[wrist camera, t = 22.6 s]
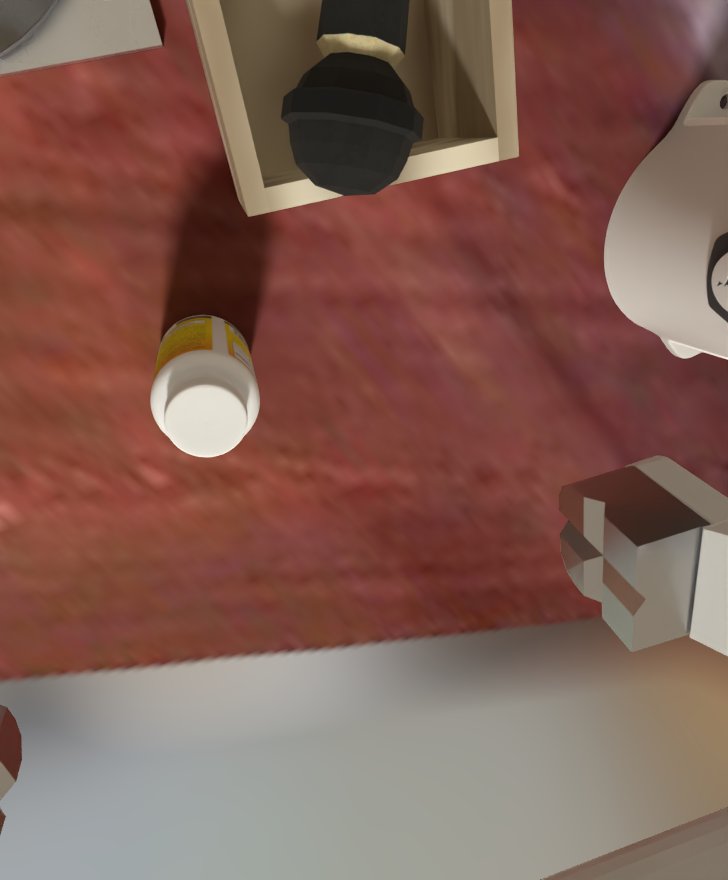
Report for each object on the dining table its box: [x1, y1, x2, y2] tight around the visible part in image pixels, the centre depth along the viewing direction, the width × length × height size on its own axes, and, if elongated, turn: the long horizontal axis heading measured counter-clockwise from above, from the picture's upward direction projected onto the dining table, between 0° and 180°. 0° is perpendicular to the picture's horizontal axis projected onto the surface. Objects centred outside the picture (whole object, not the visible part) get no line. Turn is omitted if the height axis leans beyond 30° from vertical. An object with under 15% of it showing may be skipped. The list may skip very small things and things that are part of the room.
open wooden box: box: [186, 0, 519, 217], centre depth 28 cm, size 13×13×9 cm
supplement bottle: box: [150, 315, 260, 457], centre depth 33 cm, size 6×6×10 cm
